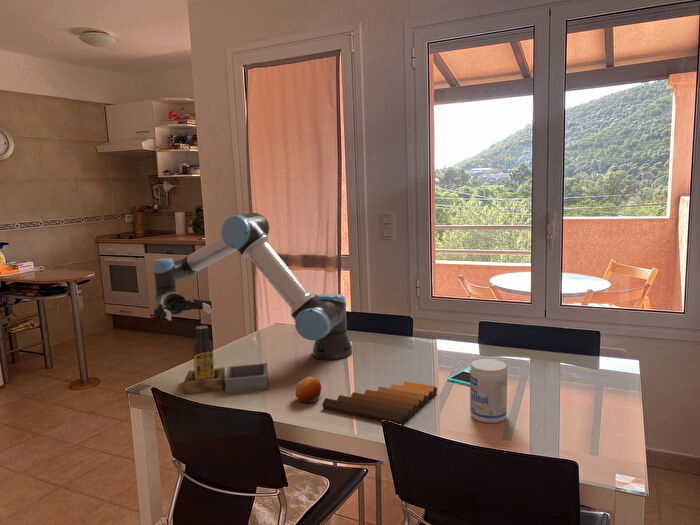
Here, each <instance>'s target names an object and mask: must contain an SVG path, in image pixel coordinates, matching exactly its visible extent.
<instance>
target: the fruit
mask: <svg viewBox="0 0 700 525" xmlns="http://www.w3.org/2000/svg"><path fill="white" fill-rule="evenodd" d="M321 391H322V383H321V381H320V380H319V379H318V378H316V377H315V376H307V377H305V378H303V379H301V381H298V382H297V383H296V386H295V397H296V399H297V400H298V401H300V402H301V403H304V404H305V403H306V404H308V403H311V402H312V403H313V402H314V403H317V400H318V398H322V396H321V393H322V392H321Z"/></svg>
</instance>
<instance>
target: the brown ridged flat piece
mask: <svg viewBox="0 0 700 525" xmlns="http://www.w3.org/2000/svg"><path fill="white" fill-rule="evenodd" d="M437 393H438V387H436V386H433V385H431V384H430V385H427V384H422V383H419V382H418V383H416V382H411V381H403V384H402V385H400V384H395V383H392V384H391V385H390V388H388V387H383V386H378V389H377V391H376V390H372V389H365V391H364V393H359V392H352V393H351V396H345V395H340V394H339V395H338V397H337V398H336V399H332V398H328V397H325V398H324V400H323V401H322V405H321V406H322V409H323V410H326V411H331V412H334V413H340V414H345V415H348V416H353V417H358V418H363V419H367V420H372V421H377V422H381V421H382V420H386V421H391V422H394V423H397V424H401V425H402V426H404V424H406V421H409V420H410V419H411V418H412V416H414V415H416V413H418V412H419V411H420V410H421V409H422V408H423V407H424V406H425V405H426V404H427V403H428V402H430V401H431V400H432V398H434V397H435V396H437ZM381 423H382V422H381Z"/></svg>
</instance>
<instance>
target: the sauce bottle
mask: <svg viewBox="0 0 700 525" xmlns="http://www.w3.org/2000/svg"><path fill="white" fill-rule="evenodd" d="M195 333H196V341H195V343H194V346H193V365H194V366H193V367H194V369H193V370H194V373H195V380H206V379H214V368H215V364H214V351H213V344H212V342H211V341H210V340H209V339H210V338H209V326H208V325H200V326H196V327H195Z"/></svg>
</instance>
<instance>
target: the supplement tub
mask: <svg viewBox="0 0 700 525" xmlns="http://www.w3.org/2000/svg"><path fill="white" fill-rule="evenodd" d="M470 366H471V370H470V386H469V387H470V388H469V391H470V392H469V394H470V395H469V407H470V408H469V410H470V412H469V413H470V416H471V417H472V418H473V419H475V420H477V421H479V422H480V423H488V424H497V423H500V422H503V421H504V420H505V419H506V418H507V410H508V408H507V407H508V405H507V404H508V403H507V402H508V400H507V399H508V367H507V364H506V363H505V362H503V361H502V360H498V359H492V358H479V359H476V360H473V361H472V362H471V363H470Z"/></svg>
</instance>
